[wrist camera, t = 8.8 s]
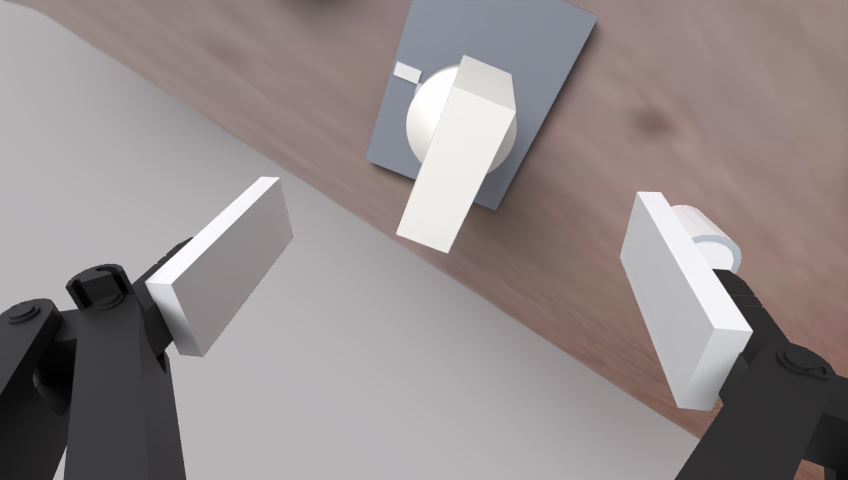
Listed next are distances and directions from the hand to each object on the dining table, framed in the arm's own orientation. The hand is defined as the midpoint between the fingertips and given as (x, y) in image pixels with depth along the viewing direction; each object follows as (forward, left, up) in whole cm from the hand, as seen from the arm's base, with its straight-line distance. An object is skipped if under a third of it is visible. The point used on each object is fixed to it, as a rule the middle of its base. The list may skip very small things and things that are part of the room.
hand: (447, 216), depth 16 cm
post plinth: (0, +3, -29) cm, 30 cm away
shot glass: (-27, +8, -30) cm, 41 cm away
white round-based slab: (0, +4, -21) cm, 21 cm away
